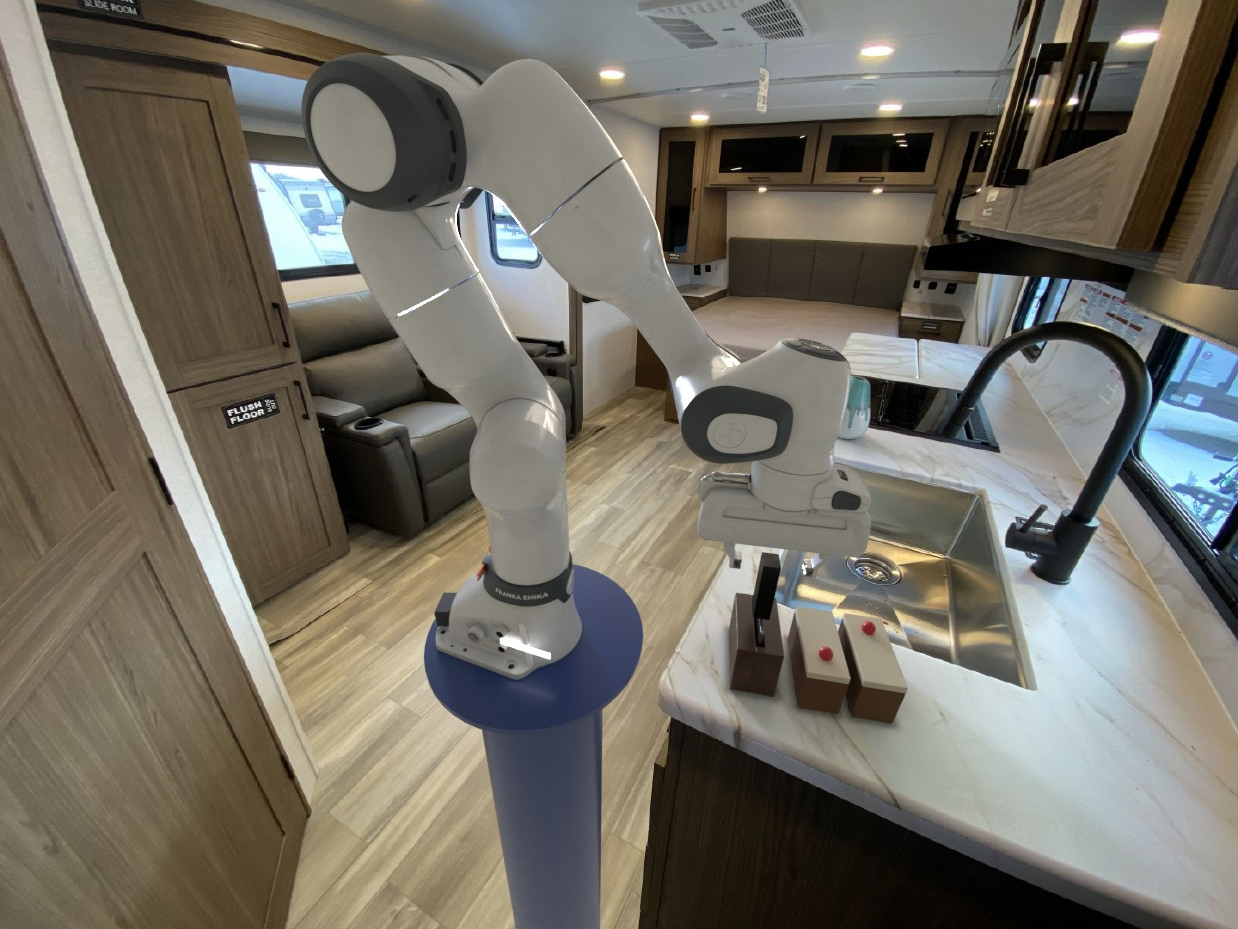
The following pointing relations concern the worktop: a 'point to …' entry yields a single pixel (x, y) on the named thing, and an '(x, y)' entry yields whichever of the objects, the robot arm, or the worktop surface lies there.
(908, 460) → the worktop surface
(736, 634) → the knife block
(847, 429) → the vase
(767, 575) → the knife
